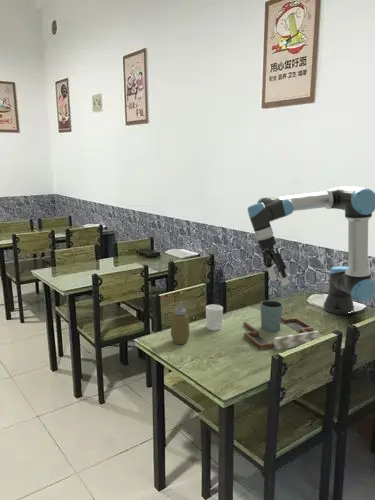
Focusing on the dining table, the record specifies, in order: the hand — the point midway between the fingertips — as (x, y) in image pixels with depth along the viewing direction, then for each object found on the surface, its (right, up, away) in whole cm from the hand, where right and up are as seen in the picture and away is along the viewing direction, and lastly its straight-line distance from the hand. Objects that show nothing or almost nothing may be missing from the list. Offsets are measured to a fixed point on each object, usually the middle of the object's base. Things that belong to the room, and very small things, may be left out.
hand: (280, 282), depth 187 cm
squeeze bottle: (-45, -25, -10) cm, 52 cm away
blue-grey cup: (-3, -22, +7) cm, 23 cm away
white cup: (-29, -22, +6) cm, 37 cm away
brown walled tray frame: (-1, -23, 0) cm, 23 cm away
